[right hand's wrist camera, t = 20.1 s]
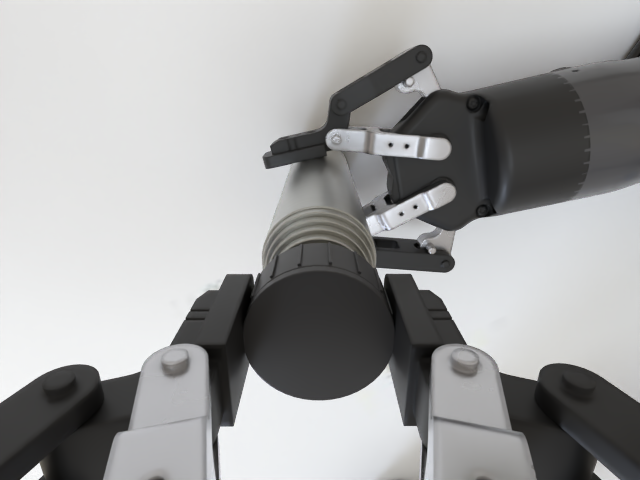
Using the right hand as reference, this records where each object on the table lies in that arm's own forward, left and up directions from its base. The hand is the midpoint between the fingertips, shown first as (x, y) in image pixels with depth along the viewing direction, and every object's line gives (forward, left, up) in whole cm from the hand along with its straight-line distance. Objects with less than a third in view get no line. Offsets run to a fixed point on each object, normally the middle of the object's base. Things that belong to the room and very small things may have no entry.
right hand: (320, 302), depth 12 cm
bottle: (0, 0, -20) cm, 20 cm away
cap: (0, 0, +2) cm, 2 cm away
